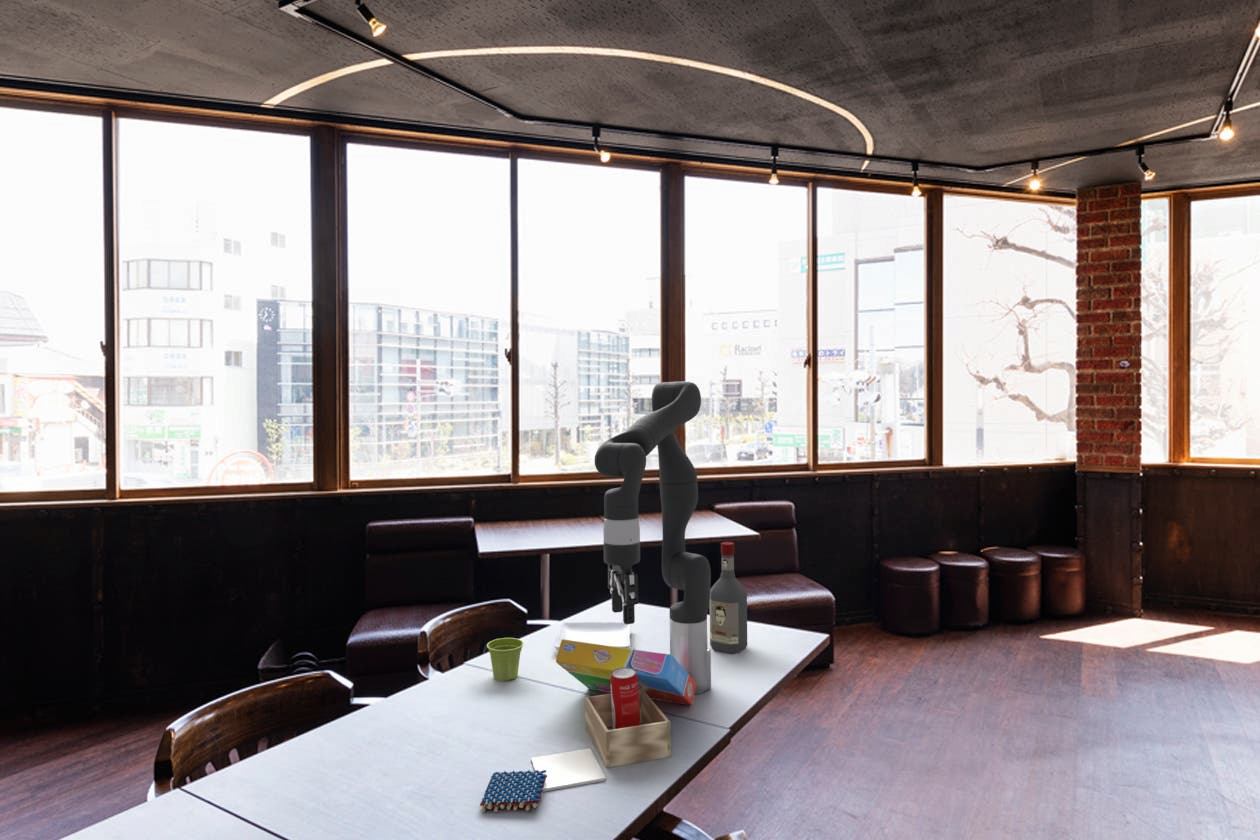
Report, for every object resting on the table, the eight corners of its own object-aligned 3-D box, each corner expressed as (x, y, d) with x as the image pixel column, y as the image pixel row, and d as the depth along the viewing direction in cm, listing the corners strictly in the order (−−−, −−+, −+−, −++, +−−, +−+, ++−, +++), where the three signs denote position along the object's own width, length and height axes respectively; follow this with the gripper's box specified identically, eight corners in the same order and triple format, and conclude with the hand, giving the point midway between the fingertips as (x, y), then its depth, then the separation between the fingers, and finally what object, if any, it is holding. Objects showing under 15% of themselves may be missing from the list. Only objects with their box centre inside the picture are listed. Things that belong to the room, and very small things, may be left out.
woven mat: (491, 780, 135) (491, 769, 134) (548, 778, 134) (547, 767, 134) (478, 813, 124) (477, 801, 124) (539, 811, 124) (538, 799, 124)
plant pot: (528, 670, 190) (527, 638, 189) (519, 684, 180) (518, 650, 180) (493, 669, 190) (492, 637, 190) (482, 683, 181) (482, 649, 181)
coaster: (589, 750, 146) (589, 748, 146) (605, 780, 134) (605, 777, 134) (531, 760, 142) (531, 757, 142) (542, 791, 131) (542, 789, 131)
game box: (553, 662, 162) (666, 679, 151) (560, 638, 165) (671, 653, 154) (588, 689, 177) (693, 706, 166) (594, 666, 180) (697, 682, 169)
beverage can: (644, 737, 151) (643, 666, 151) (634, 751, 145) (633, 678, 144) (618, 733, 153) (617, 663, 153) (607, 747, 147) (606, 675, 146)
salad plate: (630, 657, 199) (630, 645, 199) (553, 658, 199) (553, 645, 199) (631, 632, 220) (631, 621, 220) (562, 633, 221) (561, 622, 221)
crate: (643, 720, 159) (642, 688, 159) (670, 756, 143) (670, 721, 143) (585, 729, 155) (584, 697, 155) (606, 767, 139) (606, 732, 139)
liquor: (722, 640, 210) (721, 539, 210) (750, 646, 205) (749, 542, 204) (706, 649, 203) (705, 544, 202) (735, 656, 198) (734, 548, 197)
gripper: (649, 544, 142) (651, 625, 143) (629, 532, 156) (630, 606, 156) (613, 547, 140) (614, 629, 140) (595, 534, 154) (596, 609, 154)
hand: (622, 617), depth 148 cm, fingers open, 8 cm apart
